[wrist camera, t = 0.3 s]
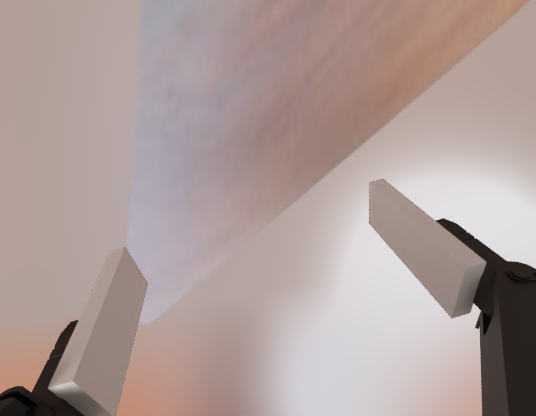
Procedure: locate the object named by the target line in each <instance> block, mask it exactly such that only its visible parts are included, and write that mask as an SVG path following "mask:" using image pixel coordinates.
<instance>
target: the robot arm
mask: <svg viewBox="0 0 536 416" xmlns="http://www.w3.org/2000/svg"><path fill="white" fill-rule="evenodd" d="M369 224H370V225H371V226H372V227H373V228H374V229H375V231H376V232H377V233H378V234H379V235H380V236H381V238H382V239H383V240H384V241H385V242H386V243H387V244H388V246H389V247H390V248H391V249H392V250H393V251H394V252H395V253H396V255H397V256H398V257H399V258H400V259H401V260H402V262H403V263H404V264H405V265H406V266H407V267H408V268H409V269H410V271H411V272H412V273H413V274H414V275H415V277H416V278H417V279H418V280H419V281H420V282H421V283H422V285H423V286H424V287H425V288H426V289H427V290H428V291H429V293H430V294H431V295H432V296H433V297H434V298H435V300H436V301H437V302H438V303H439V304H440V305H441V306H442V308H443V309H444V310H445V311H446V312H447V313H448V315H449V316H450V317H451V318H454V317H458V316H461V315H465V314H468V313H470V312H471V308H472V305H473V303H474V304H475V305H476V306H478V308H479V309H480V310H481V312H480V315H479V318H478V321H477V324H476V327H475V328H478V329H479V327H480V349H481V378H482V381H481V382H482V416H536V269H535V268H533V267H531V266H529V265H526V264H523V263H519V262H509V261H508V262H507V261H506V260H504V259H503V258H502V257H500V256H499V255H498V254H496V253H495V252H494V251H492V250H491V249H490V248H488V247H487V246H486V245H484V244H483V243H482V242H480V241H479V240H478V239H475V238H474V236H472V235H471V234H469V233H467V232H466V230H464V229H463V228H462V227H460V226H459V225H458V224H456V223H454V222H451V221H448V220H446V219H440V220H436V221H435V220H434V219H432V218H431V217H430V216H428V215H427V214H426V213H425V212H424V211H422V210H421V209H420V208H419V207H418V206H416V205H415V204H414V203H413V202H411V201H410V200H409V199H407V198H406V197H405V196H404V195H403V194H401V193H400V192H399V191H398V190H396V189H395V188H394V187H393V186H391V185H390V184H389V183H388V182H386V181H385V180H384V179H380V180H376V181H372V182H370V183H369ZM147 285H148V283H147V281H146V279H145V278H144V276H143V275H142V273H141V271H140V270H139V268H138V266H137V265H136V263H135V262H134V260H133V258H132V257H131V255H130V254H129V252H128V250H127V249H126V247H122V248H119V249H115V250H111V251H110V253H109V255H108V257H107V259H106V261H105V264H104V266H103V268H102V270H101V272H100V274H99V277H98V279H97V281H96V283H95V285H94V288H93V290H92V292H91V294H90V296H89V299H88V301H87V303H86V305H85V307H84V310H83V312H82V314H81V316H80V318H79V320H76V321H73V322H70V324H69V325H68V326H67V328H65V330H64V331H63V332H62V333H61V334H60V336H59V339H58V341H57V342H56V344H55V349H53V350H52V353H51V355H50V357H49V360H48V361H47V363H46V365H45V367H44V369H43V371H42V373H41V375H40V377H39V379H38V381H37V383H36V385H35V387H34V389H33V391H32V393H31V392H30V391H28V390H27V389H25V388H24V387H23V386H16V387H13V388H10V389H8V390H6V391H4V392H3V393H1V394H0V416H116V413H117V409H118V405H119V401H120V396H121V393H122V388H123V384H124V380H125V376H126V372H127V367H128V364H129V360H130V355H131V351H132V347H133V343H134V338H135V335H136V331H137V326H138V322H139V318H140V314H141V310H142V306H143V302H144V298H145V294H146V289H147Z"/></svg>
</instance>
